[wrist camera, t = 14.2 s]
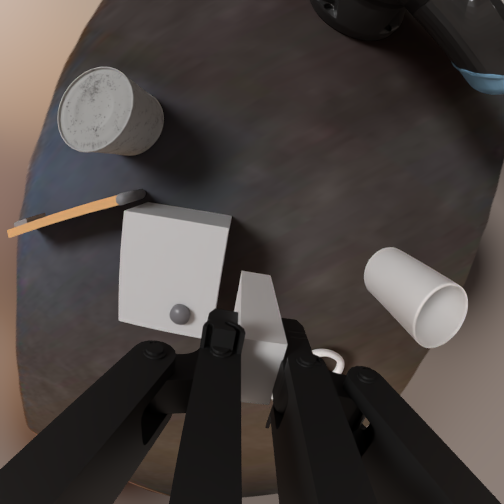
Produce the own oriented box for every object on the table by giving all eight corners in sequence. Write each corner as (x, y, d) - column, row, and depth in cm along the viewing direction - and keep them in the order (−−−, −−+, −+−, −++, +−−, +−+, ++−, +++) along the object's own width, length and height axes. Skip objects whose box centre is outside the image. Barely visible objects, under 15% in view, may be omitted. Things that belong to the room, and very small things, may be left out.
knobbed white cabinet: (147, 202, 40) (121, 211, 31) (232, 215, 41) (228, 229, 32) (139, 298, 44) (116, 329, 34) (215, 313, 45) (209, 349, 35)
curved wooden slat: (143, 183, 39) (124, 187, 32) (146, 197, 40) (127, 203, 33) (32, 217, 40) (4, 226, 32) (34, 229, 40) (7, 239, 33)
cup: (372, 305, 45) (419, 360, 30) (356, 262, 43) (407, 307, 28) (413, 282, 44) (470, 325, 29) (401, 238, 42) (464, 270, 27)
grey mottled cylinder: (176, 107, 37) (151, 84, 25) (142, 167, 39) (104, 167, 27) (124, 82, 35) (85, 56, 23) (92, 139, 37) (44, 132, 25)
